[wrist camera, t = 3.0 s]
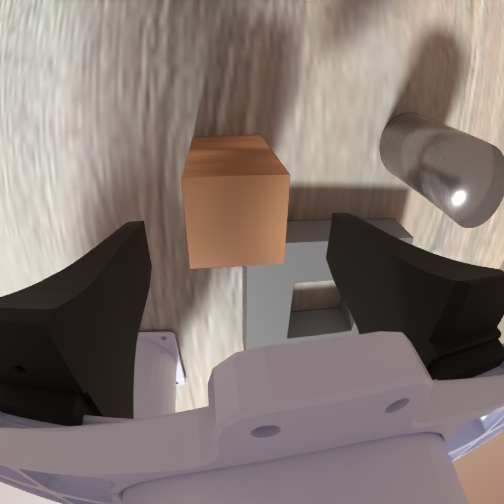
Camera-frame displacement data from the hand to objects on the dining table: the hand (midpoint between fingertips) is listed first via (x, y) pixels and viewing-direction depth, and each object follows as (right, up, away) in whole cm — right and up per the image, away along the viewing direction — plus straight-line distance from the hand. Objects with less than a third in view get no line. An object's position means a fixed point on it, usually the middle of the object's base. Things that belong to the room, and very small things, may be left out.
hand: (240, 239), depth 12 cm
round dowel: (+12, +7, +8) cm, 16 cm away
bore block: (+6, -3, +14) cm, 15 cm away
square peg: (-1, +5, +8) cm, 9 cm away
